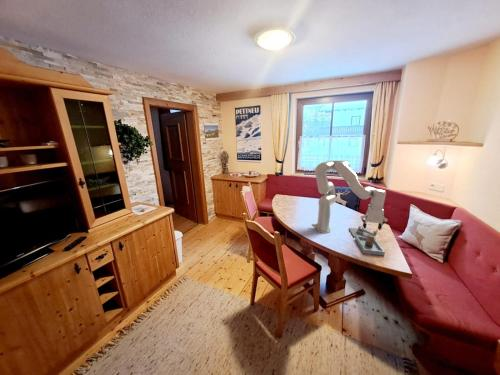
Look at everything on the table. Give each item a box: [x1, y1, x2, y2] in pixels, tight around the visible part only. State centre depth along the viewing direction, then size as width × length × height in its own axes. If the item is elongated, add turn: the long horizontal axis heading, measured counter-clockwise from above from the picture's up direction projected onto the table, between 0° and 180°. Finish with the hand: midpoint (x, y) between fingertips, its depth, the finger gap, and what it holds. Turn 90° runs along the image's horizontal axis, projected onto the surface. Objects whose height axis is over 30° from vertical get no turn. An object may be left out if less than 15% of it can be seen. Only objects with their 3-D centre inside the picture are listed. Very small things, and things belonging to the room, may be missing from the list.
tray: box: [355, 236, 386, 256], centre depth 142 cm, size 13×19×3 cm
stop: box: [365, 235, 376, 248], centre depth 141 cm, size 5×5×8 cm
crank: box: [357, 226, 379, 237], centre depth 155 cm, size 14×5×5 cm, turn 28°
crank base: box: [348, 227, 370, 238], centre depth 161 cm, size 14×14×3 cm
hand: (371, 228), depth 139 cm, fingers open, 9 cm apart
